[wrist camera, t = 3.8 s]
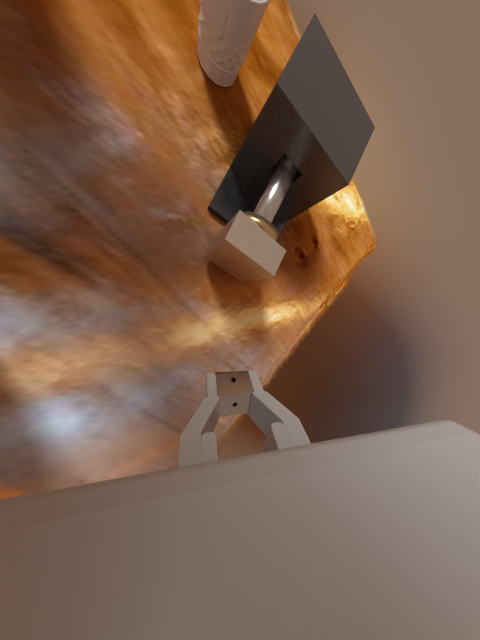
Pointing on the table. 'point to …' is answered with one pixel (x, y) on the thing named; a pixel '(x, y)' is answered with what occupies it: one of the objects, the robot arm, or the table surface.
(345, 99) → the bearing block
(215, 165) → the table surface
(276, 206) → the shaft
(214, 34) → the white cup
